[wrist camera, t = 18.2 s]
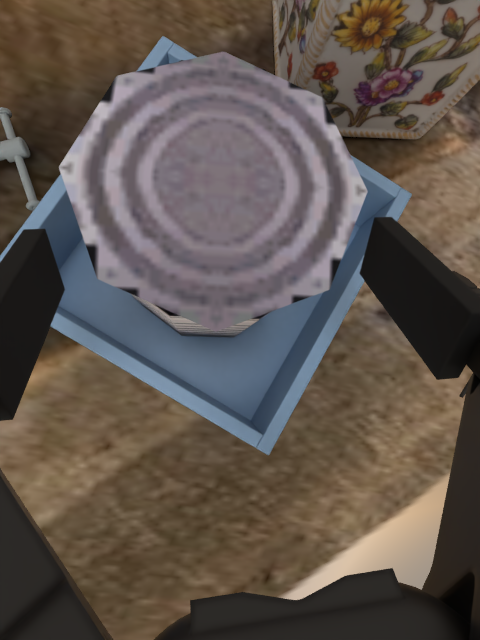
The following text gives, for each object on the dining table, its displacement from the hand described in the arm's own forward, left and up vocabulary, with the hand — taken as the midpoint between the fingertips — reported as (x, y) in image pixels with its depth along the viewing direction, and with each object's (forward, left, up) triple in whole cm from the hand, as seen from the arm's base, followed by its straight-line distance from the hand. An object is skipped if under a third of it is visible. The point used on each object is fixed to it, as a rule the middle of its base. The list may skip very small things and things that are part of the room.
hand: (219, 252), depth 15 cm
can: (-1, +2, -10) cm, 11 cm away
